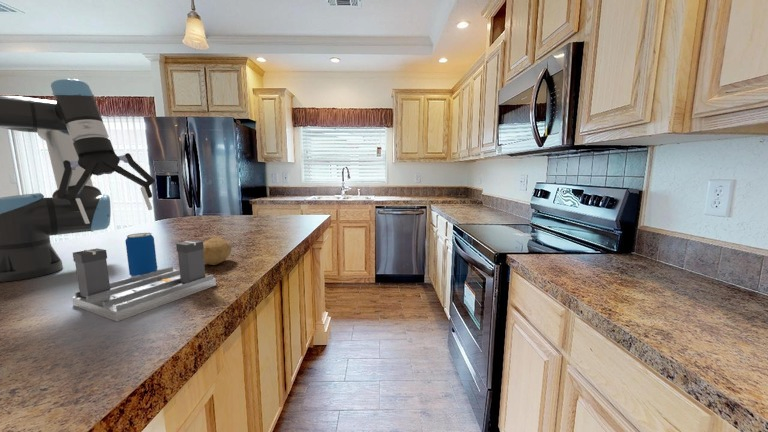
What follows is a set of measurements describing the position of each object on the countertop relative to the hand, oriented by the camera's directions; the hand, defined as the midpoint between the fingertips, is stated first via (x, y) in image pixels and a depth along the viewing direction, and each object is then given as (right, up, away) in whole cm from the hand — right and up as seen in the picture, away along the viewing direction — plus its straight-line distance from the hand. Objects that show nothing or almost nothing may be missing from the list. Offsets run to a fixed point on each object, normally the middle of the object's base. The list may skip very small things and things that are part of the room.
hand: (120, 216), depth 84 cm
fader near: (+6, -18, -14) cm, 23 cm away
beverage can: (+2, -17, +6) cm, 19 cm away
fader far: (+23, -17, -5) cm, 29 cm away
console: (+15, -19, -9) cm, 26 cm away
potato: (+17, -16, +17) cm, 28 cm away
